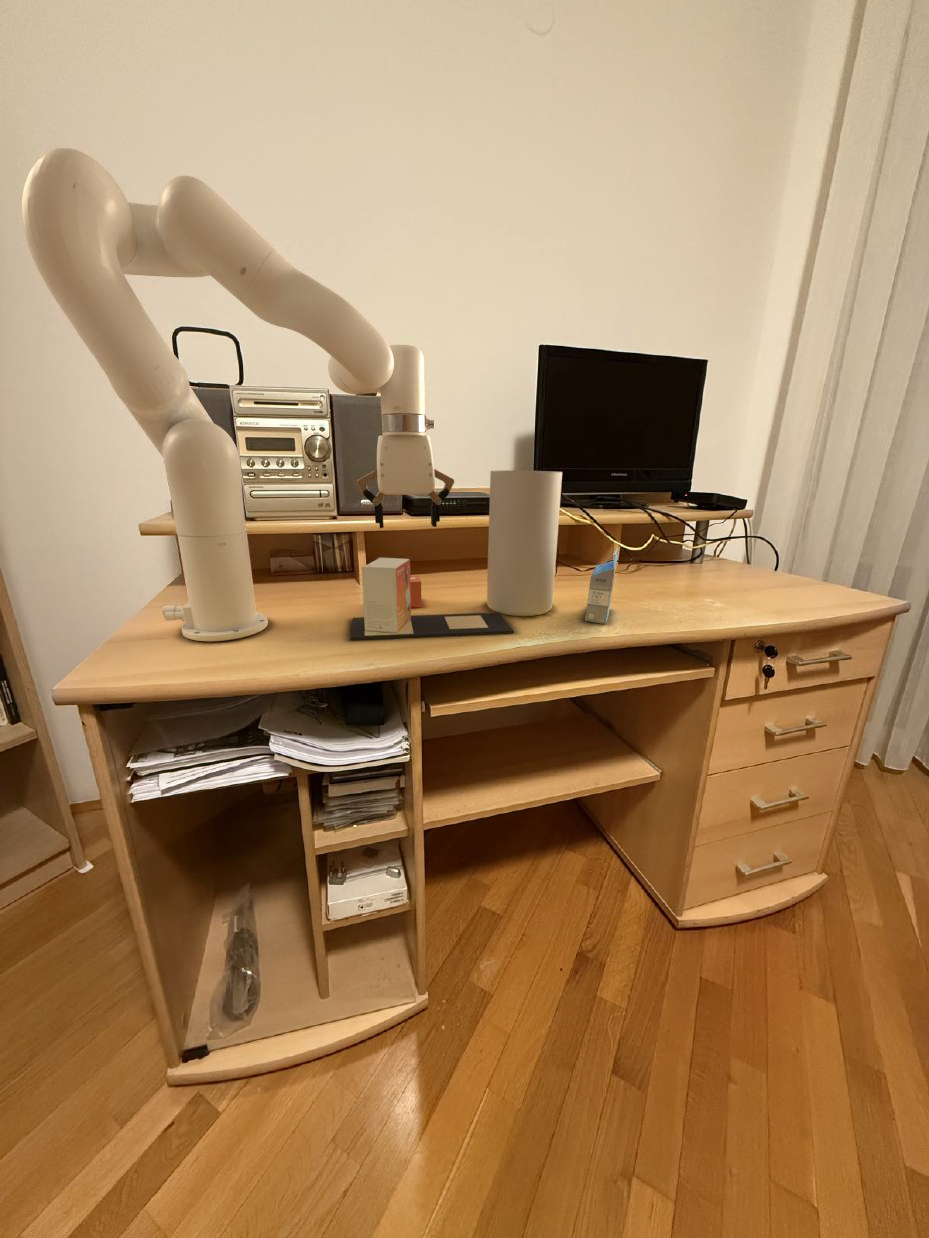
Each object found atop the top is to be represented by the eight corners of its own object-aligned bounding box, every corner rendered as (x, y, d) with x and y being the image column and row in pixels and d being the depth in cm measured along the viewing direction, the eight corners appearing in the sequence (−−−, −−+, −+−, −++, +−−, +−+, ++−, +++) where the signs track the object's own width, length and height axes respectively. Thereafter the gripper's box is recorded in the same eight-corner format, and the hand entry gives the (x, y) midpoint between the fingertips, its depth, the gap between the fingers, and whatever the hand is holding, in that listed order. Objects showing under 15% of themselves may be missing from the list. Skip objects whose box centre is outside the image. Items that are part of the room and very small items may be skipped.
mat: (350, 640, 75) (349, 636, 75) (352, 620, 85) (352, 617, 85) (513, 633, 80) (513, 629, 80) (498, 614, 89) (498, 611, 89)
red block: (395, 608, 92) (394, 581, 91) (394, 600, 97) (393, 575, 95) (421, 607, 93) (421, 581, 91) (419, 600, 98) (419, 575, 96)
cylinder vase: (478, 613, 90) (482, 471, 82) (495, 596, 101) (500, 470, 93) (546, 620, 86) (556, 473, 78) (556, 602, 98) (566, 471, 90)
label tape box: (589, 608, 94) (595, 544, 90) (611, 610, 93) (618, 546, 89) (584, 621, 86) (591, 552, 82) (608, 624, 85) (616, 554, 81)
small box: (397, 634, 77) (395, 568, 73) (363, 631, 78) (360, 566, 74) (412, 618, 84) (411, 558, 81) (381, 616, 85) (378, 556, 82)
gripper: (450, 428, 90) (451, 522, 95) (354, 428, 87) (360, 525, 92) (456, 426, 83) (457, 528, 88) (352, 425, 80) (359, 531, 85)
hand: (407, 526), depth 90 cm, fingers open, 9 cm apart
